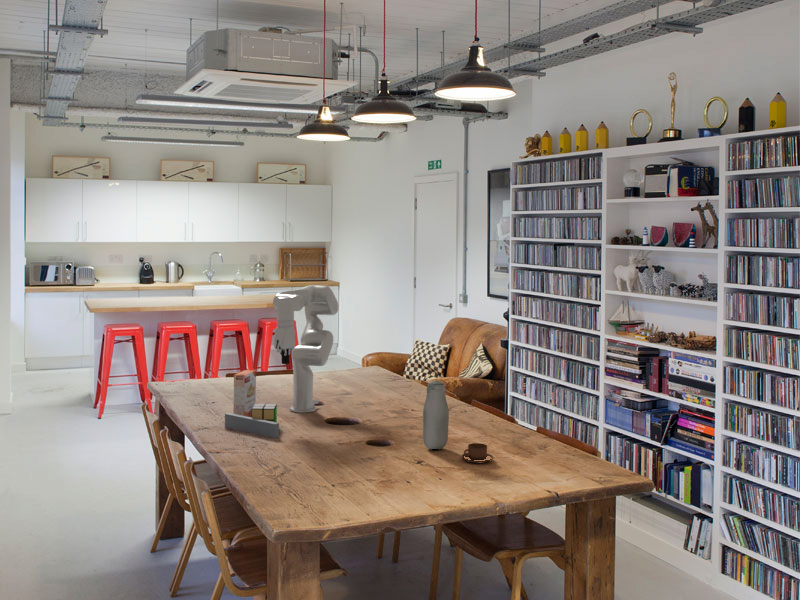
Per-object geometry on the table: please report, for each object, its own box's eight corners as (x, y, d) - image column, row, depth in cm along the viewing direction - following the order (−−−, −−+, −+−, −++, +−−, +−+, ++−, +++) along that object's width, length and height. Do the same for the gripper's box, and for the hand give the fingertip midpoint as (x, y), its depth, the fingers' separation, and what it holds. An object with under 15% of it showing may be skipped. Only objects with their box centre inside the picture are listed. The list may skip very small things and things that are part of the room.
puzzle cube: (254, 425, 368) (254, 403, 367) (276, 425, 368) (276, 403, 367) (251, 431, 358) (251, 408, 357) (274, 431, 358) (274, 408, 357)
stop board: (229, 426, 366) (229, 412, 365) (278, 437, 349) (278, 423, 348) (224, 427, 364) (224, 413, 363) (274, 438, 347) (274, 424, 346)
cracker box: (245, 420, 377) (245, 375, 375) (232, 419, 378) (232, 374, 377) (256, 413, 391) (256, 370, 389) (244, 412, 392) (244, 369, 390)
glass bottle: (435, 444, 341) (437, 377, 339) (452, 450, 333) (454, 381, 331) (417, 448, 335) (418, 380, 333) (433, 454, 327) (435, 384, 325)
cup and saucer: (480, 467, 311) (480, 451, 310) (455, 461, 319) (455, 445, 318) (498, 461, 320) (499, 445, 319) (474, 455, 328) (474, 439, 327)
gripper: (289, 321, 382) (289, 360, 384) (267, 325, 369) (268, 365, 371) (302, 322, 378) (302, 362, 380) (280, 326, 365) (280, 367, 367)
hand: (285, 363), depth 375 cm, fingers closed
